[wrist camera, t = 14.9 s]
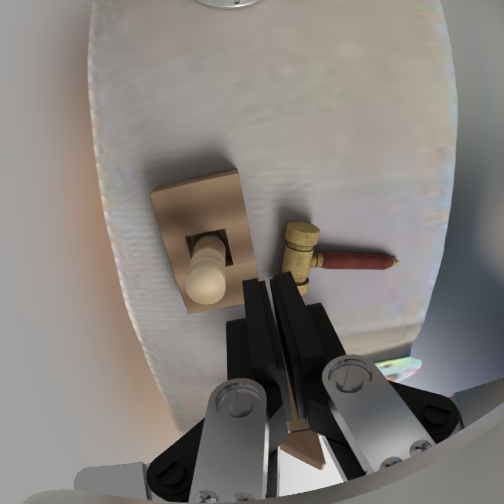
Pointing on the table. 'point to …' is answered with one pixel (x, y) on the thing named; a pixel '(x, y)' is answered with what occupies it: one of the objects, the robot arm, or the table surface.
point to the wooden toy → (302, 439)
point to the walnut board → (206, 230)
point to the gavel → (322, 255)
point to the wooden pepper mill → (207, 269)
